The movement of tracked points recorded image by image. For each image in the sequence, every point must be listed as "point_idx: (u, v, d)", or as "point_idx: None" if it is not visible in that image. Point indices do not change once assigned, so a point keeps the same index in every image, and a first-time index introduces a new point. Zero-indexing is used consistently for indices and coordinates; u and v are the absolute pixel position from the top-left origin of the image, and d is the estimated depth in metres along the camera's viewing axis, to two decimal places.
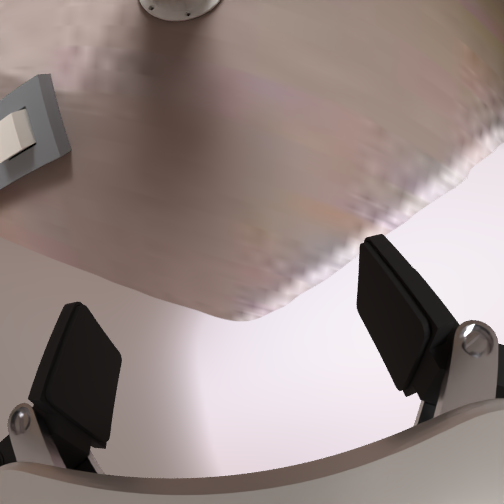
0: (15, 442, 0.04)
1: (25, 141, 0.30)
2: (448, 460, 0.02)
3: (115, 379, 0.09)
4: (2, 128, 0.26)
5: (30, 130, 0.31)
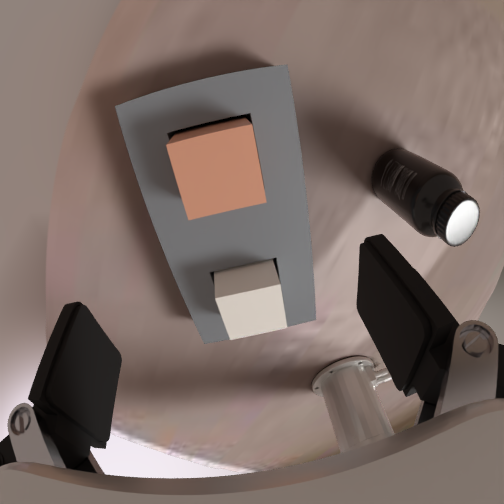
0: (15, 442, 0.04)
1: None
2: (448, 460, 0.02)
3: (115, 379, 0.09)
4: (271, 313, 0.28)
5: None
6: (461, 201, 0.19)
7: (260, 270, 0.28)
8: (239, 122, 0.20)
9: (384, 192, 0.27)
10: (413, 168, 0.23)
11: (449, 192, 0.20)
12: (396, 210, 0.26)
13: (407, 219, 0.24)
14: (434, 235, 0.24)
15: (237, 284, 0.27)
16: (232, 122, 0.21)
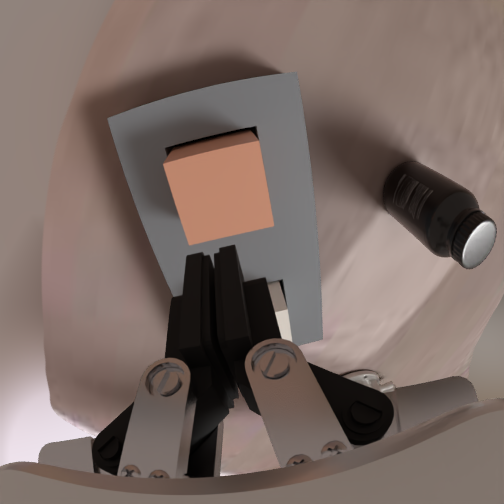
0: (141, 399, 0.05)
1: None
2: (448, 460, 0.02)
3: None
4: None
5: None
6: (480, 223, 0.17)
7: None
8: (244, 137, 0.19)
9: (396, 209, 0.25)
10: (429, 185, 0.21)
11: (467, 212, 0.18)
12: (409, 228, 0.24)
13: (421, 239, 0.23)
14: (448, 256, 0.22)
15: None
16: (236, 136, 0.19)
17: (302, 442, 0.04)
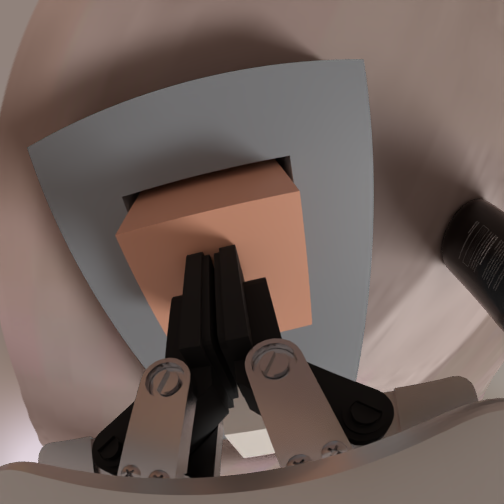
0: (141, 399, 0.05)
1: None
2: (448, 460, 0.02)
3: None
4: None
5: None
6: None
7: None
8: (265, 174, 0.11)
9: (463, 268, 0.17)
10: None
11: None
12: (477, 296, 0.16)
13: (493, 314, 0.14)
14: None
15: None
16: (250, 170, 0.11)
17: (302, 442, 0.04)
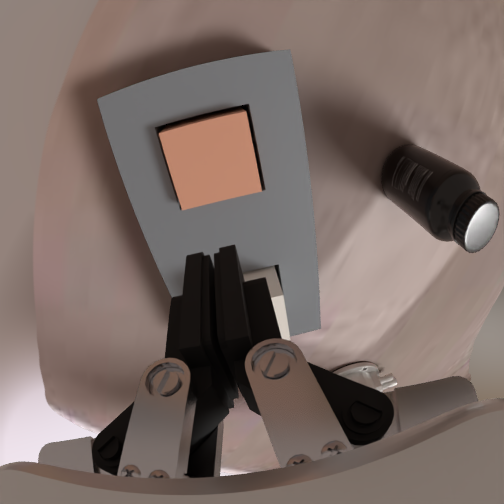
0: (141, 399, 0.05)
1: None
2: (448, 460, 0.02)
3: None
4: None
5: None
6: (482, 204, 0.16)
7: None
8: (233, 110, 0.20)
9: (395, 192, 0.24)
10: (428, 166, 0.20)
11: (469, 193, 0.17)
12: (409, 212, 0.24)
13: (421, 222, 0.22)
14: (450, 239, 0.21)
15: None
16: (226, 111, 0.20)
17: (302, 442, 0.04)
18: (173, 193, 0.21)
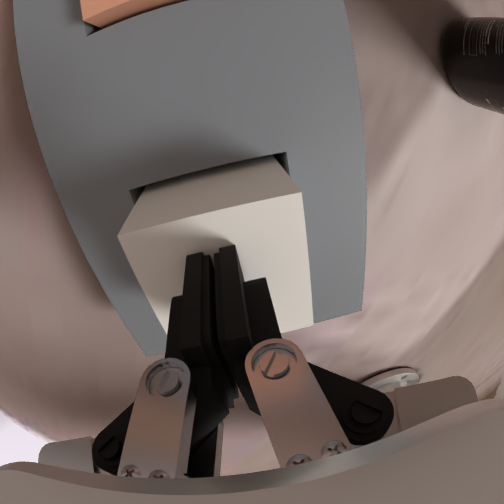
0: (141, 399, 0.05)
1: None
2: (448, 460, 0.02)
3: None
4: (275, 285, 0.11)
5: None
6: None
7: (247, 175, 0.11)
8: None
9: (472, 62, 0.10)
10: None
11: None
12: (501, 87, 0.09)
13: None
14: None
15: (183, 202, 0.10)
16: None
17: (302, 442, 0.04)
18: (80, 8, 0.07)
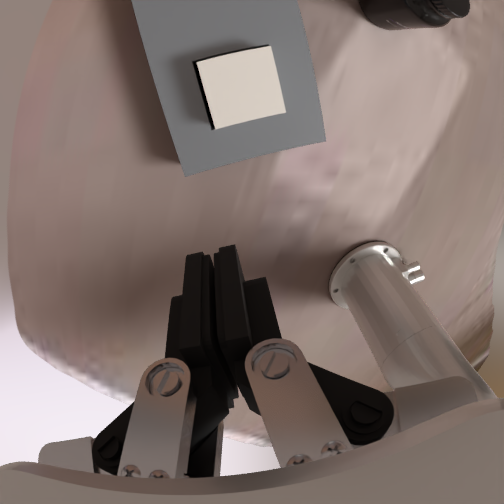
0: (141, 399, 0.05)
1: None
2: (448, 460, 0.02)
3: None
4: (264, 85, 0.21)
5: None
6: None
7: None
8: None
9: (373, 1, 0.19)
10: None
11: None
12: (388, 9, 0.18)
13: (400, 6, 0.16)
14: (433, 19, 0.15)
15: None
16: None
17: (302, 442, 0.04)
18: None
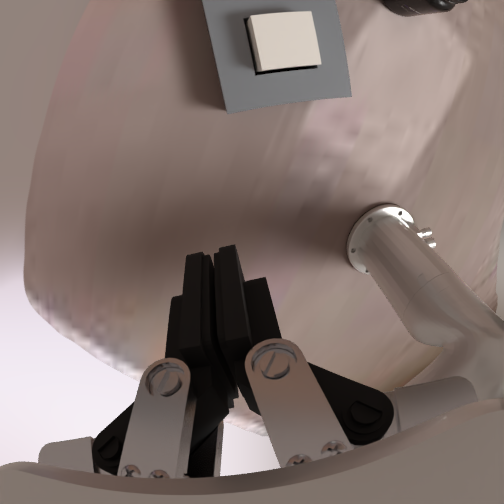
0: (141, 399, 0.05)
1: None
2: (448, 460, 0.02)
3: None
4: (304, 40, 0.22)
5: None
6: None
7: None
8: None
9: None
10: None
11: None
12: None
13: None
14: (439, 4, 0.17)
15: None
16: None
17: (302, 442, 0.04)
18: None
